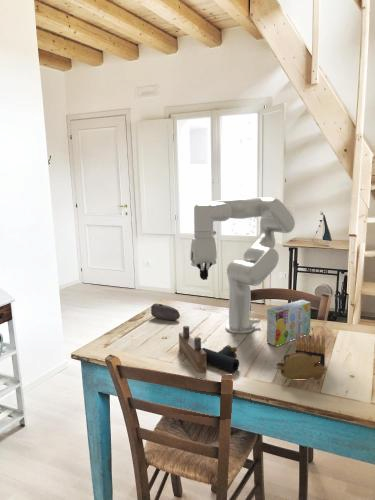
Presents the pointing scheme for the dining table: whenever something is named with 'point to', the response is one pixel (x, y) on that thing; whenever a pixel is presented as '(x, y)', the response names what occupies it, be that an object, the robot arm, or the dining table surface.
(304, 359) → the wooden carving
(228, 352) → the pipe connector
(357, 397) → the dining table surface
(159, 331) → the dining table surface
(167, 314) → the perforated stone tool
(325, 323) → the dining table surface
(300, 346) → the ammunition clip
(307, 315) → the snack box
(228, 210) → the robot arm
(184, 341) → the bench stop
